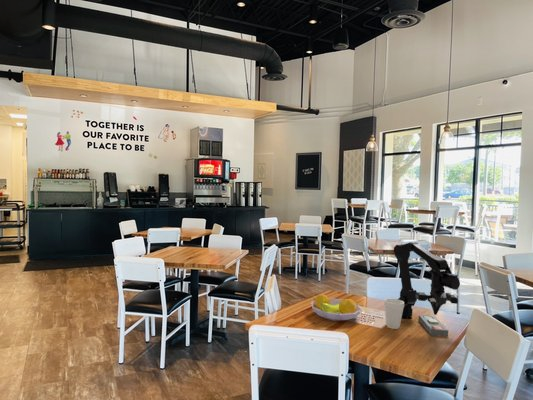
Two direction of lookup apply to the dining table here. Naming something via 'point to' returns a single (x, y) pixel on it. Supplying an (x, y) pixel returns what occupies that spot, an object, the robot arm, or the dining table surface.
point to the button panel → (430, 329)
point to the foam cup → (393, 312)
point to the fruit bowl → (335, 308)
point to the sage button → (432, 321)
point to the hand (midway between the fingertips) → (435, 314)
